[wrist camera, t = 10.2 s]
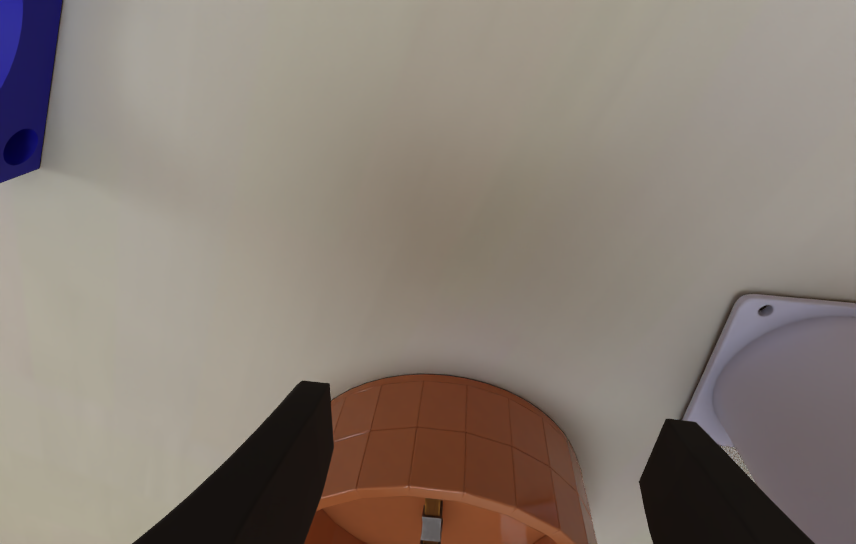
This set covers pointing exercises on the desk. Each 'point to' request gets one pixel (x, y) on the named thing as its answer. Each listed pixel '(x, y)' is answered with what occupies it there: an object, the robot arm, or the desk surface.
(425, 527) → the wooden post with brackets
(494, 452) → the orange brown bowl
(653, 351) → the desk surface
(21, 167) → the cable clip
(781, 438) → the robot arm
